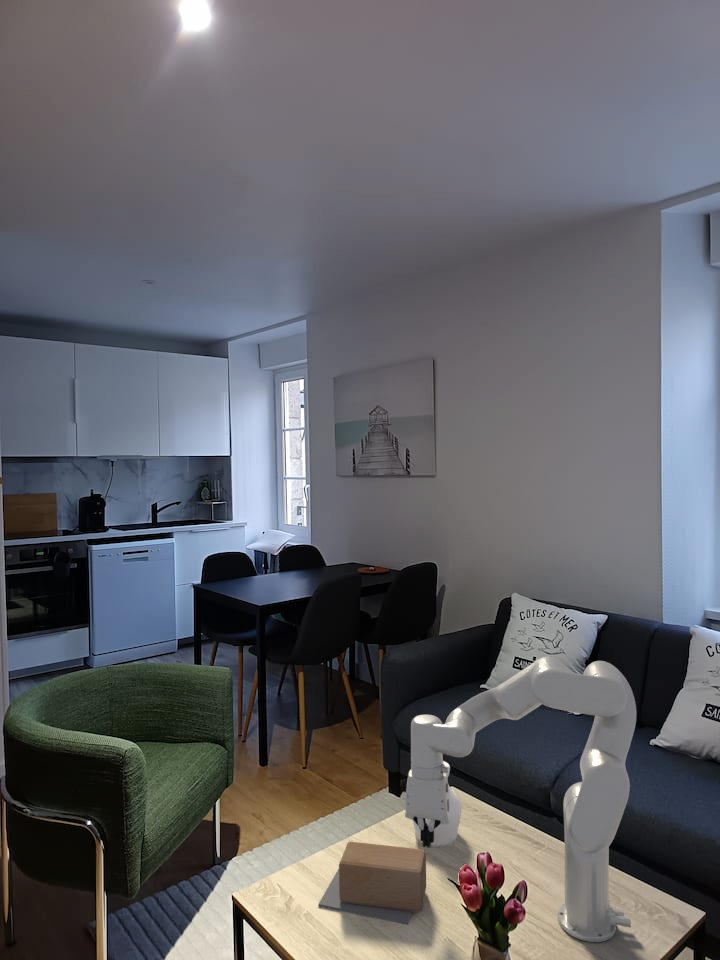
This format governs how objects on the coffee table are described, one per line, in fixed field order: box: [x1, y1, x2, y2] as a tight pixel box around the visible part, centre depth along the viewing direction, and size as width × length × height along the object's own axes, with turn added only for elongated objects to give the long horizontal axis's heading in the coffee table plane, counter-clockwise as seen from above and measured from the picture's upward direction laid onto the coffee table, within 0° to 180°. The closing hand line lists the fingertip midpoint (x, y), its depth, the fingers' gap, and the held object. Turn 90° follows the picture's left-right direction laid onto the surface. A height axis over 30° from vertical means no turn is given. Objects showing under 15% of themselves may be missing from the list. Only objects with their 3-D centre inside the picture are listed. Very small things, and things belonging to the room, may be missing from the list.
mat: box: [318, 868, 414, 925], centre depth 166 cm, size 22×18×1 cm
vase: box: [412, 760, 462, 848], centre depth 190 cm, size 14×14×20 cm
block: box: [338, 841, 427, 913], centre depth 164 cm, size 10×10×20 cm
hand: (427, 844), depth 162 cm, fingers closed
